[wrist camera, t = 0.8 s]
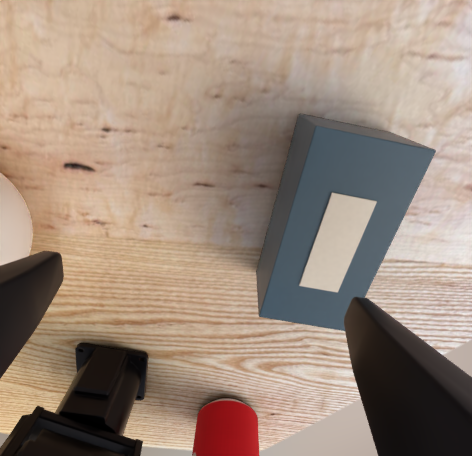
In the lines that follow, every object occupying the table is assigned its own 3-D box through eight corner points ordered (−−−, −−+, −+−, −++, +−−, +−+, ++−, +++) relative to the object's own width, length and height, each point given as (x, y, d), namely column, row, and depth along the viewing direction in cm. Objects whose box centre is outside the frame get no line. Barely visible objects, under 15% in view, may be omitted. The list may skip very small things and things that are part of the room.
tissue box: (329, 284, 24) (348, 333, 20) (256, 272, 24) (258, 318, 19) (391, 132, 19) (438, 150, 14) (298, 113, 19) (316, 125, 14)
